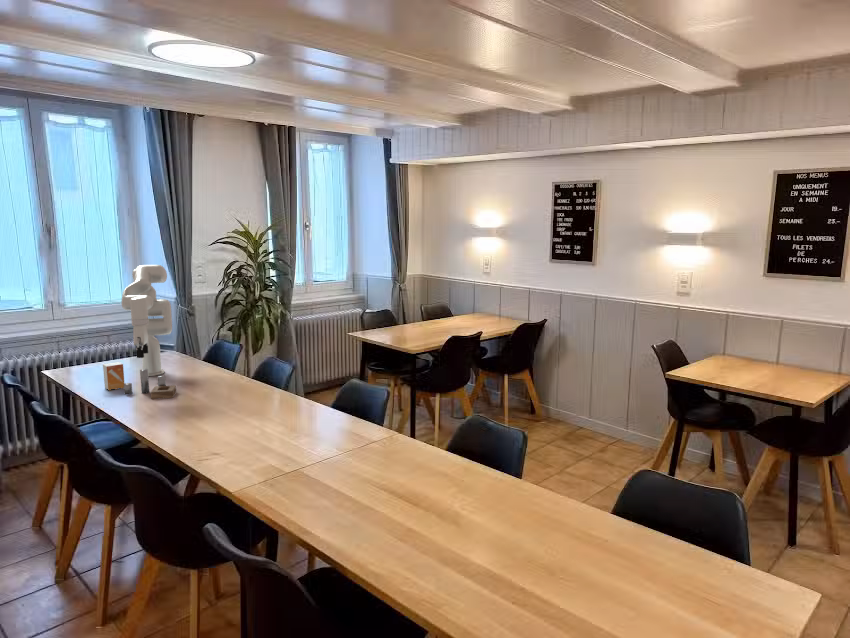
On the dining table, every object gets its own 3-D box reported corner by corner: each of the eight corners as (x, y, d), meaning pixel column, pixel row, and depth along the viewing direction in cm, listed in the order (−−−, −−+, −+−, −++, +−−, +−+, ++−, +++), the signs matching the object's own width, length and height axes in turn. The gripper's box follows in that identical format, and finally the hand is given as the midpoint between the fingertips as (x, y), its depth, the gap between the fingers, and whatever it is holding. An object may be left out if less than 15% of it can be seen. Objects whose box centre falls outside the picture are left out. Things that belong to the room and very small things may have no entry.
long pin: (142, 391, 297) (140, 368, 295) (150, 391, 298) (148, 368, 296) (140, 393, 293) (139, 370, 291) (148, 393, 294) (146, 370, 292)
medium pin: (159, 390, 299) (158, 375, 297) (166, 390, 300) (165, 375, 298) (158, 392, 295) (156, 377, 294) (165, 392, 296) (164, 377, 295)
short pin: (125, 392, 295) (124, 383, 294) (133, 392, 296) (132, 382, 295) (123, 394, 292) (122, 385, 291) (131, 394, 292) (130, 384, 292)
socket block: (155, 392, 295) (154, 386, 294) (176, 391, 297) (175, 385, 297) (151, 399, 285) (150, 392, 285) (172, 397, 288) (172, 390, 287)
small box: (108, 391, 297) (106, 366, 295) (104, 388, 302) (102, 364, 299) (125, 387, 303) (123, 363, 300) (121, 385, 307) (119, 361, 305)
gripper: (136, 319, 296) (138, 352, 299) (127, 325, 280) (130, 359, 283) (152, 319, 298) (154, 351, 301) (144, 324, 282) (146, 359, 285)
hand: (142, 355), depth 292 cm, fingers open, 9 cm apart
